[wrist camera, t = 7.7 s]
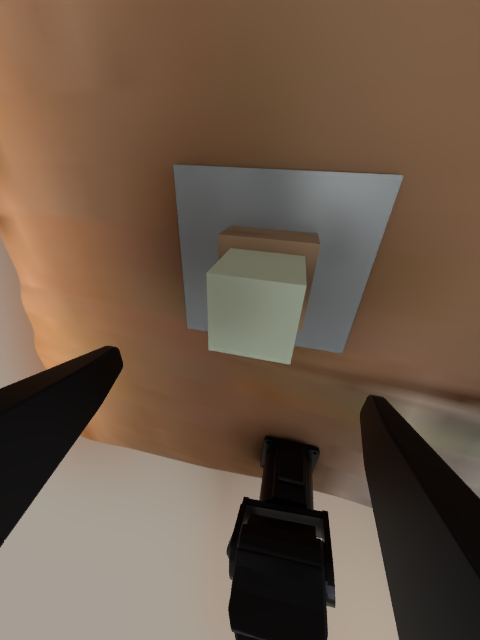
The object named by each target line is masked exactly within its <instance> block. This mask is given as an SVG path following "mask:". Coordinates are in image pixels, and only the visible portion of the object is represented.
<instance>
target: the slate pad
mask: <svg viewBox="0 0 480 640" xmlns="http://www.w3.org/2000/svg"><path fill="white" fill-rule="evenodd" d="M173 168H174V180H175V191H176V202H177V214H178V225H179V237H180V248H181V259H182V271H183V282H184V293H185V305H186V316H187V327H188V329H195V330H201V331H207V332H208V311H207V276H206V273H207V272H208V271H209V270H210V269H211V268H212V267H213V266H214V265H215V264H216V263H217V262H218V261H219V252H218V234H220V233H221V232H223V231H224V230H225V229H227V228H228V227H230V226H240V227H251V228H263V229H274V230H286V231H297V232H308V233H318V236H319V240H320V243H321V245H320V250H319V254H318V259H317V263H316V268H315V273H314V277H313V282H312V286H311V291H310V296H309V300H308V305H307V310H306V314H305V319H304V323H303V328H302V332H300V331H297V334H296V339H295V344H294V346H298V347H304V348H311V349H317V350H323V351H329V352H335V353H341V354H342V353H343V350H344V347H345V344H346V341H347V338H348V335H349V333H350V330H351V327H352V324H353V321H354V318H355V315H356V312H357V309H358V306H359V304H360V301H361V298H362V295H363V292H364V289H365V286H366V283H367V280H368V277H369V275H370V272H371V269H372V266H373V263H374V260H375V257H376V254H377V251H378V249H379V246H380V243H381V240H382V237H383V234H384V231H385V228H386V225H387V222H388V220H389V217H390V214H391V211H392V208H393V205H394V202H395V199H396V196H397V193H398V191H399V188H400V185H401V182H402V179H403V176H404V175H390V174H368V173H347V172H325V171H303V170H282V169H260V168H239V167H217V166H196V165H174V164H173Z"/></svg>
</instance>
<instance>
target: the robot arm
mask: <svg viewBox="0 0 480 640" xmlns="http://www.w3.org/2000/svg"><path fill="white" fill-rule="evenodd" d="M122 368H123V361H122V358H121V354H120V351H119V349H118V348H117V347H113V346H104V347H102V348H99V349H97V350H94V351H92V352H90V353H87V354H85V355H82V356H80V357H77V358H75V359H72V360H70V361H67V362H65V363H62V364H60V365H57V366H55V367H53V368H50V369H48V370H45V371H43V372H40V373H38V374H36V375H33V376H30V377H28V378H25V379H23V380H21V381H18V382H16V383H13V384H11V385H8V386H6V387H3V388H1V389H0V547H1V545H2V544H3V543H4V540H5V539H6V538H7V537H8V535H9V534H10V533H11V531H12V530H13V528H14V527H15V526H16V524H17V523H18V521H19V520H20V518H21V517H22V516H23V514H24V513H25V511H26V510H27V509H28V507H29V506H30V504H31V503H32V502H33V500H34V499H35V497H36V496H37V495H38V493H39V492H40V490H41V489H42V488H43V486H44V484H45V483H46V482H47V480H48V479H49V478H50V476H51V475H52V474H53V472H54V471H55V469H56V468H57V467H58V465H59V463H60V462H61V461H62V460H63V458H64V457H65V455H66V454H67V452H68V451H69V450H70V448H71V447H72V445H73V444H74V443H75V441H76V440H77V438H78V437H79V436H80V434H81V433H82V431H83V430H84V429H85V427H86V426H87V424H88V423H89V422H90V420H91V419H92V417H93V416H94V415H95V413H96V412H97V410H98V409H99V407H100V406H101V404H102V403H103V401H104V400H105V398H106V396H107V394H108V393H109V391H110V389H111V388H112V386H113V384H114V382H115V381H116V379H117V377H118V375H119V374H120V372H121V370H122ZM360 424H361V436H362V447H363V458H364V466H365V472H366V477H367V482H368V487H369V492H370V497H371V502H372V507H373V512H374V517H375V521H376V527H377V531H378V537H379V542H380V547H381V552H382V556H383V562H384V566H385V571H386V577H387V581H388V586H389V591H390V596H391V601H392V606H393V611H394V616H395V621H396V626H397V631H398V636H399V640H480V498H479V497H478V496H477V495H476V494H475V493H474V492H473V491H472V490H471V489H470V488H469V487H468V486H467V485H466V484H465V483H464V481H463V480H462V479H461V478H460V477H459V476H458V475H457V474H456V473H455V472H454V471H453V470H452V469H451V468H450V467H449V466H448V465H447V463H446V462H445V461H444V460H443V459H442V458H441V457H440V456H439V455H438V454H437V453H436V452H435V451H434V450H433V449H432V448H431V447H430V446H429V444H428V443H427V442H426V441H425V440H424V439H423V438H422V437H421V436H420V435H419V434H418V433H417V432H416V431H415V430H414V429H413V428H412V426H411V425H410V424H409V423H408V422H407V421H406V420H405V419H404V418H403V417H402V416H401V415H400V414H399V413H398V412H397V411H396V410H395V409H394V407H393V406H392V405H391V404H390V403H389V402H388V401H387V400H386V399H385V398H384V397H381V396H376V395H369V396H368V397H367V399H366V401H365V403H364V405H363V407H362V409H361V412H360ZM319 455H320V451H319V449H318V448H316V447H311V446H307V445H303V444H298V443H294V442H289V441H285V440H281V439H276V438H272V437H265V439H264V446H263V452H262V458H261V464H260V466H261V467H262V468H264V469H263V477H262V485H261V492H260V500H253V499H249V498H248V497H244V499H243V503H242V504H241V506H240V510H239V513H238V517H237V520H236V524H235V528H234V532H233V534H232V537H231V539H230V542H229V544H228V547H227V555H228V558H229V576H230V579H231V580H233V581H232V588H231V597H230V601H229V607H228V608H229V609H228V611H229V618H230V625H231V630H232V632H234V633H235V638H236V640H327V637H328V628H327V609H326V606H330V607H333V608H335V584H334V569H333V558H332V549H331V538H330V528H329V519H328V511H316V510H314V509H313V482H312V472H313V470H314V467H315V465H316V462H317V460H318V457H319ZM316 537H319V538H322V541H321V540H320V539H318V538H316Z"/></svg>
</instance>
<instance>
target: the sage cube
mask: <svg viewBox="0 0 480 640" xmlns="http://www.w3.org/2000/svg"><path fill="white" fill-rule="evenodd" d="M206 276H207V311H208V345H209V350H211V351H217V352H222V353H228V354H233V355H239V356H245V357H250V358H256V359H261V360H267V361H272V362H278V363H283V364H289V365H290V363H291V358H292V353H293V349H294V344H295V339H296V334H297V330H298V325H299V320H300V315H301V311H302V306H303V301H304V296H305V291H306V287H307V282H306V262H305V256H300V255H290V254H281V253H272V252H262V251H253V250H244V249H234V248H230V249H229V250H228V251H227V252H226V253H225V254H224V256H223V257H222V258H221V259H220V260H219V261H218V262H217V263H216V264H215V265H214V266H213V267H212V268H211V269H210V270H209V271H208V272H207V273H206Z"/></svg>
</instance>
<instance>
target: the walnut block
mask: <svg viewBox="0 0 480 640" xmlns="http://www.w3.org/2000/svg"><path fill="white" fill-rule="evenodd" d="M320 245H321V243H320V240H319V236H318V233H308V232H297V231H286V230H274V229H263V228H251V227H240V226H230V227H228V228H227V229H225V230H224V231H223V232H221V233H220V234H218V252H219V260H220V259H221V258H222V257H223V256H224V254H225V253H226V252H227V251H228V250H229V249H230V248H234V249H244V250H253V251H262V252H272V253H281V254H290V255H300V256H305V262H306V282H307V287H306V291H305V296H304V301H303V306H302V311H301V315H300V320H299V325H298V330H297V331H300V332H302V328H303V323H304V319H305V314H306V310H307V305H308V300H309V296H310V291H311V286H312V282H313V277H314V273H315V268H316V263H317V259H318V254H319V250H320Z"/></svg>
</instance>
